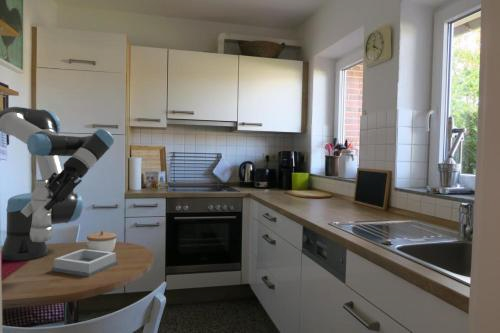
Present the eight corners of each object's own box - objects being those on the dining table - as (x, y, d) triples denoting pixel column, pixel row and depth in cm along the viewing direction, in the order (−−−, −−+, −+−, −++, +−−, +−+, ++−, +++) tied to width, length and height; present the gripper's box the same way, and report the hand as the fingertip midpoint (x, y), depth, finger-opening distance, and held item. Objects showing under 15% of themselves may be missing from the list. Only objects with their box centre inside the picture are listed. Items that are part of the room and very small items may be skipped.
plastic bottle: (49, 238, 118) (50, 179, 118) (55, 242, 113) (56, 180, 113) (27, 240, 114) (28, 179, 113) (32, 245, 109) (33, 181, 108)
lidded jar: (95, 260, 132) (96, 235, 132) (81, 254, 138) (81, 230, 138) (121, 254, 140) (121, 231, 140) (106, 249, 147) (107, 227, 147)
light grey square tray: (51, 270, 119) (51, 259, 119) (83, 258, 133) (83, 248, 133) (89, 276, 115) (89, 264, 115) (117, 263, 129) (117, 252, 129)
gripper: (104, 173, 121) (56, 227, 108) (70, 169, 131) (22, 218, 117) (90, 157, 116) (39, 212, 103) (56, 154, 126) (5, 204, 113)
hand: (30, 215), depth 110 cm, fingers closed on plastic bottle, 6 cm apart
